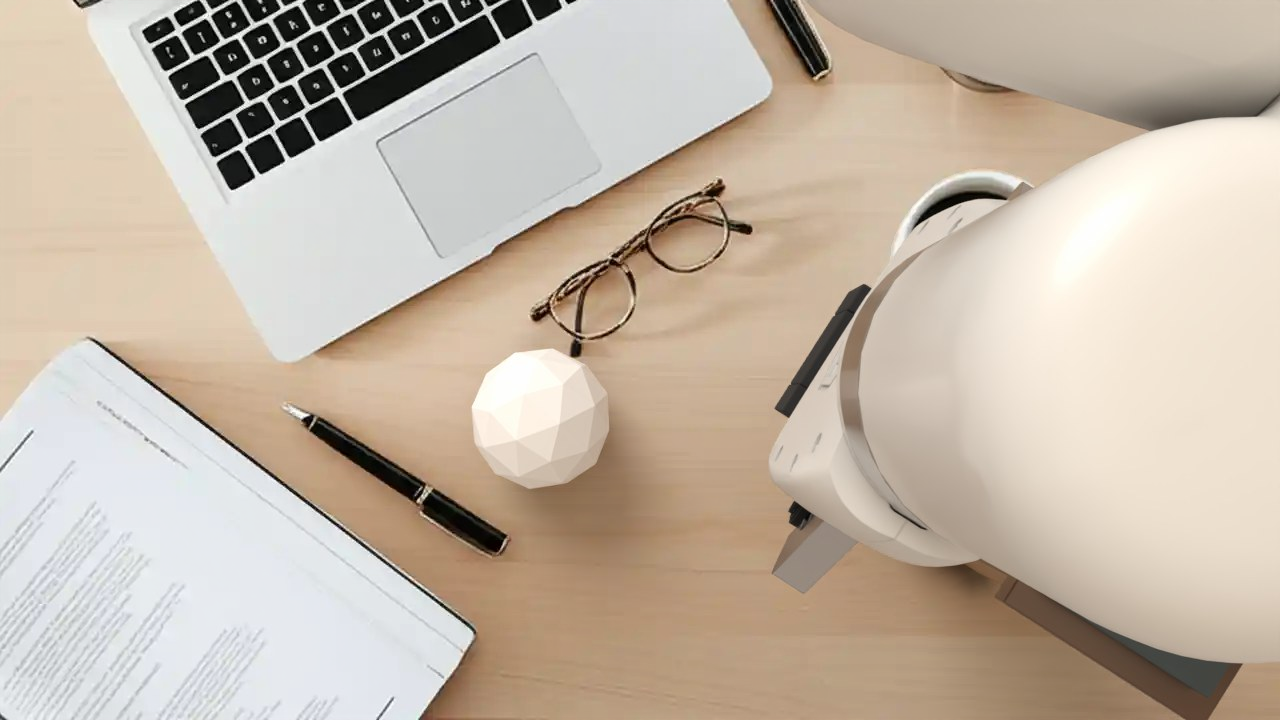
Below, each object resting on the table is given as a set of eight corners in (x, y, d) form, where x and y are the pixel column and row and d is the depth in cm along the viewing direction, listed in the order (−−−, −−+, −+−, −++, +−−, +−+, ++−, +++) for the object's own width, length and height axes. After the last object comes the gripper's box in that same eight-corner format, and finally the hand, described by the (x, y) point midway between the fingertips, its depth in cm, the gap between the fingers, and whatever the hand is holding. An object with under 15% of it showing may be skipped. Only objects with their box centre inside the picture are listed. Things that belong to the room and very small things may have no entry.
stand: (937, 406, 68) (1125, 407, 40) (1053, 479, 67) (1325, 533, 39) (864, 520, 68) (1002, 602, 40) (980, 594, 67) (1202, 730, 39)
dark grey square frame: (849, 290, 45) (863, 282, 42) (968, 366, 45) (993, 364, 41) (773, 408, 45) (781, 410, 42) (893, 484, 45) (911, 492, 41)
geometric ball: (559, 383, 71) (603, 314, 65) (599, 500, 68) (649, 440, 62) (442, 398, 67) (476, 327, 61) (478, 523, 64) (518, 461, 58)
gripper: (1069, -12, 27) (909, 149, 45) (670, 612, 27) (671, 521, 45) (1349, 160, 26) (1074, 252, 44) (946, 792, 26) (835, 626, 44)
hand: (873, 387), depth 44 cm, fingers closed on dark grey square frame, 5 cm apart
